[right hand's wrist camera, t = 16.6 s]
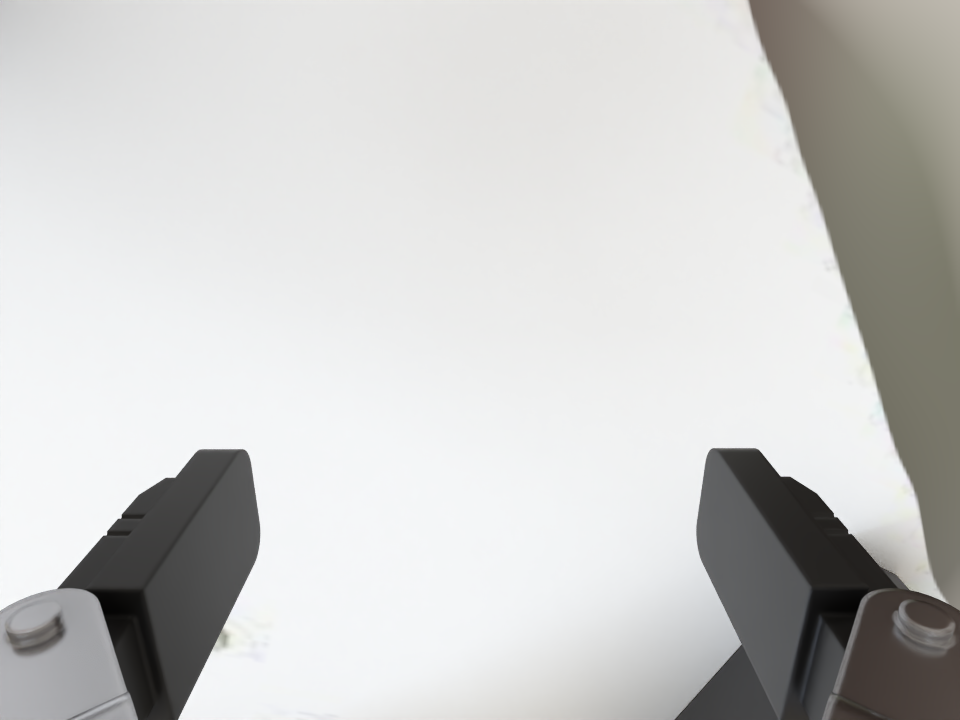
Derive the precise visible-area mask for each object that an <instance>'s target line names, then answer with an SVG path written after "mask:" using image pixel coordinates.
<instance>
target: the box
mask: <svg viewBox="0 0 960 720" xmlns="http://www.w3.org/2000/svg"><path fill="white" fill-rule="evenodd" d="M880 568H881V567H880ZM881 569H882V570H883V571H884V572H885V573H886V574H887V576H888V577H889V578H890V579H891V580H892V581H893V583H894V584H895V585H896V586H897V587H898V588H899V589H905V590H909V589H908V588H907V587H906V586H905V584H904V583H903V582H902V581H901V580H900V579H899V578H898V577H897V575H895V574H893V573H891V572H889V571H887V570H885V569H883V568H881ZM676 720H778V718H777V715H776V713H775V711H774V709H773V707H772V705H771V703H770V701H769V699H768V697H767V695H766V693H765V691H764V689H763V687H762V685H761V682H760V680H759V678H758V676H757V674H756V672H755V670H754V668H753V666H752V664H751V662H750V660H749V658H748V656H747V654H746V651H745V649H744V647H743V645H742V646H741V647H740V648H739V649H738V650H737V651H736V653H735V654H734V655H733V656H732V657H731V658H730V659H729V660H728V661H727V663H726V664H725V665H724V666H723V667H722V668H721V669H720V670H719V672H718V673H717V674H716V675H715V676H714V677H713V678H712V679H711V680H710V682H709V683H708V684H707V685H706V686H705V687H704V688H703V689H702V691H701V692H700V693H699V694H698V695H697V696H696V697H695V698H694V700H693V701H692V702H691V703H690V704H689V705H688V706H687V707H686V708H685V710H684V711H683V712H682V713H681V714H680V715H679V716H678V717H677V719H676Z"/></svg>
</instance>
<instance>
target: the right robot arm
mask: <svg viewBox="0 0 960 720" xmlns="http://www.w3.org/2000/svg"><path fill="white" fill-rule="evenodd" d="M259 544H260V522H259V516H258V509H257V502H256V495H255V488H254V481H253V474H252V468H251V462H250V458H249V455H248V453H247V452H246V451H245V450H243V449H202V450H199V451H197V452H196V453H195V454H194V456H193V457H192V458H191V459H190V460H189V462H188V463H187V464H186V465H185V467H184V468H183V469H182V470H181V472H180V473H179V474H178V475H177V476H176V478H165V479H164V480H162V481H160V482H159V483H157V484H156V485H154V486H152V487H151V488H149V489H148V490H146V491H145V492H143V493H141V494H140V495H139V496H138V497H137V498H136V499H135V500H134V501H133V502H132V504H131V505H130V506H129V507H128V508H127V509H126V510H125V512H124V513H123V514H122V518H121V519H118V520H117V521H116V522H115V523H114V524H113V525H112V527H111V528H110V529H109V530H108V531H107V536H103V537H102V538H101V539H100V540H99V542H98V543H97V544H96V545H95V546H94V547H93V548H92V550H91V551H90V552H89V553H88V554H87V555H86V556H85V558H84V559H83V560H82V561H81V562H80V563H79V564H78V566H77V567H76V568H75V569H74V570H73V571H72V573H71V574H70V575H69V576H68V577H67V578H66V579H65V581H64V582H63V583H62V584H61V585H60V586H59V587H58V589H55V590H50V591H45V592H41V593H38V594H35V595H32V596H29V597H26V598H24V599H21V600H19V601H17V602H15V603H13V604H11V605H9V606H8V607H6V608H4V609H2V610H1V611H0V720H178V718H179V716H180V714H181V712H182V710H183V708H184V706H185V704H186V702H187V700H188V698H189V696H190V694H191V692H192V690H193V688H194V686H195V684H196V682H197V680H198V677H199V675H200V673H201V671H202V669H203V667H204V665H205V663H206V661H207V659H208V657H209V655H210V653H211V651H212V649H213V647H214V645H215V643H216V641H217V639H218V637H219V635H220V633H221V631H222V629H223V626H224V624H225V622H226V620H227V618H228V616H229V614H230V612H231V610H232V608H233V606H234V604H235V602H236V600H237V598H238V596H239V594H240V592H241V590H242V588H243V586H244V584H245V582H246V580H247V578H248V575H249V573H250V571H251V569H252V567H253V565H254V563H255V561H256V558H257V554H258V550H259ZM697 545H698V550H699V554H700V558H701V560H702V563H703V565H704V567H705V569H706V571H707V573H708V575H709V577H710V579H711V581H712V583H713V585H714V587H715V590H716V592H717V594H718V596H719V598H720V600H721V602H722V604H723V606H724V608H725V610H726V612H727V614H728V616H729V618H730V621H731V623H732V625H733V627H734V629H735V631H736V633H737V635H738V637H739V639H740V641H741V643H742V645H743V647H744V649H745V651H746V654H747V656H748V658H749V660H750V662H751V664H752V666H753V668H754V670H755V672H756V674H757V676H758V678H759V680H760V682H761V685H762V687H763V689H764V691H765V693H766V695H767V697H768V699H769V701H770V703H771V705H772V707H773V709H774V711H775V713H776V715H777V718H778V720H960V611H959V610H957V609H956V608H954V607H952V606H951V605H949V604H947V603H945V602H943V601H941V600H939V599H936V598H934V597H931V596H928V595H925V594H922V593H919V592H915V591H910V590H905V589H899V588H898V587H897V586H896V585H895V584H894V583H893V581H892V580H891V579H890V578H889V577H888V576H887V574H886V573H885V572H884V571H883V570H882V569H881V568H880V566H879V565H878V564H877V563H876V562H875V561H874V559H873V558H872V557H871V556H870V555H869V554H868V552H867V551H866V550H865V549H864V548H863V547H862V545H861V544H860V543H859V542H858V541H857V540H856V539H855V537H854V536H853V535H852V534H848V529H847V528H846V527H845V526H844V525H843V523H842V522H841V521H840V520H839V519H838V518H837V517H834V513H833V512H832V511H831V510H830V508H829V507H828V506H827V505H826V504H825V503H824V501H823V500H822V499H821V498H820V497H819V496H818V494H817V493H815V492H813V491H812V490H810V489H809V488H807V487H805V486H804V485H802V484H801V483H799V482H798V481H796V480H794V479H793V478H791V477H780V475H779V474H778V473H777V472H776V470H775V469H774V468H773V467H772V465H771V464H770V463H769V462H768V460H767V459H766V458H765V457H764V456H763V454H762V453H761V452H760V451H759V450H758V449H755V448H713V449H711V450H710V451H709V453H708V455H707V458H706V463H705V470H704V477H703V484H702V491H701V498H700V505H699V512H698V519H697Z"/></svg>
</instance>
